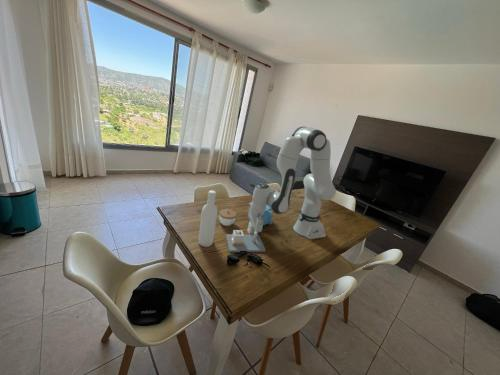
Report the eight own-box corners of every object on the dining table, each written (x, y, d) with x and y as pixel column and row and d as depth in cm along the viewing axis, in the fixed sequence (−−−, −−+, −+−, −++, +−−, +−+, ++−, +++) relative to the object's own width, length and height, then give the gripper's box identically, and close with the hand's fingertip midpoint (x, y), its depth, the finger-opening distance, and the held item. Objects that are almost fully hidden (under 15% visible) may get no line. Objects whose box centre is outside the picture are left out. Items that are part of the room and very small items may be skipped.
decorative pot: (271, 230, 134) (276, 212, 129) (246, 225, 133) (251, 207, 128) (268, 217, 150) (273, 200, 145) (247, 213, 148) (250, 196, 143)
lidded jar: (214, 223, 129) (216, 210, 125) (224, 217, 138) (226, 204, 134) (228, 230, 125) (230, 217, 121) (237, 223, 134) (240, 211, 130)
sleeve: (255, 229, 131) (257, 221, 129) (257, 235, 126) (259, 226, 124) (246, 229, 129) (248, 221, 127) (248, 235, 124) (250, 226, 122)
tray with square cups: (258, 236, 125) (260, 225, 122) (265, 251, 112) (268, 240, 110) (225, 235, 119) (227, 224, 116) (229, 252, 107) (231, 240, 104)
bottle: (194, 242, 108) (200, 191, 97) (203, 235, 115) (210, 187, 104) (207, 249, 106) (214, 197, 95) (215, 241, 112) (223, 192, 102)
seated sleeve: (240, 238, 117) (242, 229, 115) (242, 245, 112) (244, 236, 110) (230, 238, 116) (232, 229, 113) (232, 245, 110) (234, 236, 108)
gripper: (267, 219, 113) (262, 239, 118) (257, 202, 132) (253, 220, 137) (256, 218, 112) (251, 239, 117) (248, 201, 130) (244, 220, 135)
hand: (252, 229), depth 127 cm, fingers open, 8 cm apart
